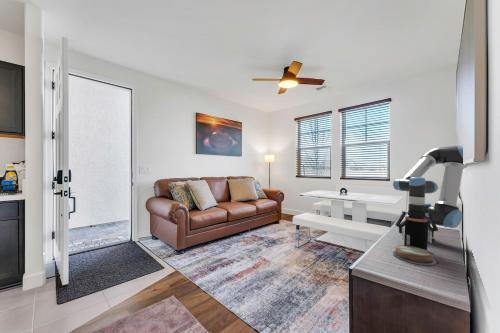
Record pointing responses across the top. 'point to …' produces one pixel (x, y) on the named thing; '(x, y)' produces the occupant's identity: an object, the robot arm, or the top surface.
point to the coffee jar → (416, 232)
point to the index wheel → (414, 253)
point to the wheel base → (415, 262)
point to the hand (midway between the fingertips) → (415, 240)
